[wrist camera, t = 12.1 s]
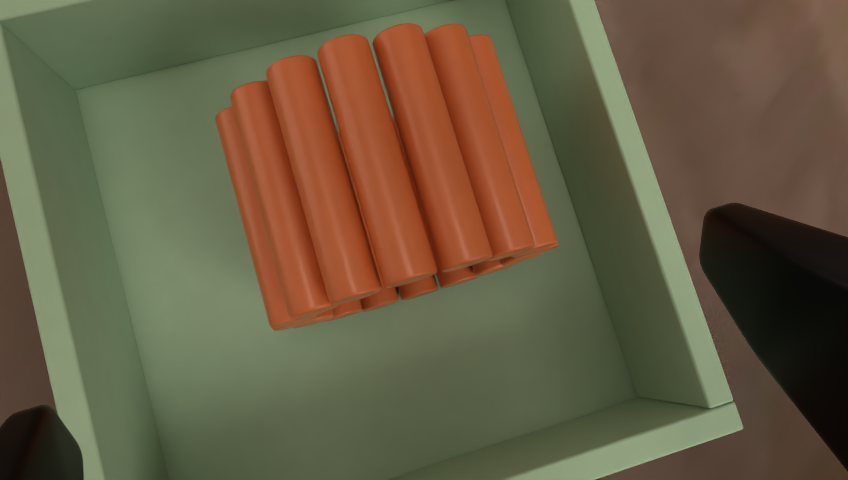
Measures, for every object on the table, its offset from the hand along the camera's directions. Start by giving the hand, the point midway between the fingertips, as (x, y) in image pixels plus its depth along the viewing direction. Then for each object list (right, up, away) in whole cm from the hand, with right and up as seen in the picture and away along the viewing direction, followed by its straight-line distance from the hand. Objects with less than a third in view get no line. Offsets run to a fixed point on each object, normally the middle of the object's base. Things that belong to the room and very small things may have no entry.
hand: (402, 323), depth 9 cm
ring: (-1, +2, +6) cm, 7 cm away
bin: (-2, +1, +10) cm, 10 cm away
